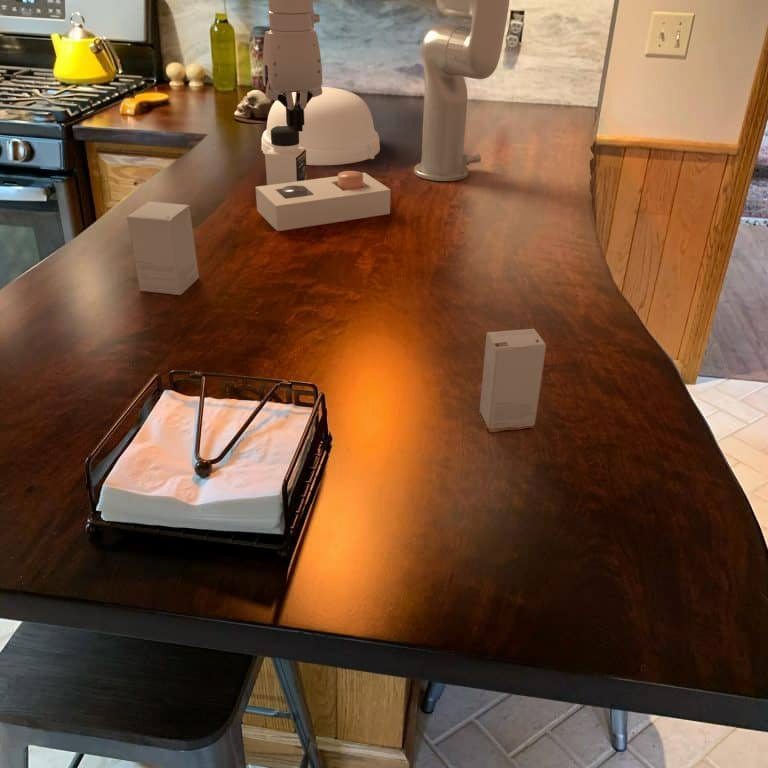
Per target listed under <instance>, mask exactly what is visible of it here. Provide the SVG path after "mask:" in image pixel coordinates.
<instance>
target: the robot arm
mask: <svg viewBox="0 0 768 768" xmlns="http://www.w3.org/2000/svg"><path fill="white" fill-rule="evenodd" d="M267 1H268V2H267V3H268V19H269V20H268V21H269V22H268V23H269V30H266V31H265V32H264V37H263V50H262V81H263V86H264V87H265V93H264V94H265V96H266V98H268V99H270V100H271V101H279V102H281V103H282V104H283V105H284V106H285V107H286V123H287V126H288V127H289V129H290V130H292V131H293V132H297V131H303V125H304V109H305V108H306V105H307V103H308V102H309V101H310V100H311V98H313V97H316V96H319V95H321V94H322V88H321V87H323V86H322V85H323V66H322V65H323V64H322V58H321V57H322V56H321V55H322V54H321V48H320V45H319V44H320V42H319V39H318V35H317V34H318V33H317V30H315V29H314V28H315V26H314V25H316V24H317V23H318V24H319V23H320V20H321V19H320V18H321V17H320V14H315V13H314V11H313V0H267ZM435 4H436V7H437V10H438V11H439V12H440V13H441V14H443V15H444V16H447V17H451V18H455V19H463V20H468V21H469V20H470V21H471V27H469V26H464V25H460V24H453V23H452V24H451V23H441V24H436V25H434V26H432V27H431V28H429V29H428V31H427V32H426V33H425V35H424V37H423V40H422V44H421V58H422V59H421V60H422V64H423V65H422V66H423V72H424V74H423V76H424V101H423V118H422V119H423V123H422V139H421V140H422V142H421V143H422V144H421V161H420V162H419V163H417V164H416V165H415V166H414V170H413V171H414V174H415V176H417V177H420V178H422V179H424V180H428V181H434V182H436V181H437V182H455V181H460V180H463V179H465V178H467V177H468V176H469V171H470V170H469V168H468V167H467V166H470V164H478V163H480V162H481V160H482V156H481V154H479V153H478V154H471V153H469V152H464V148H465V134H466V120H467V109H468V106H467V105H468V100H469V99H468V87H467V84H466V81H465V78H468V79H473V80H474V79H475V80H484V79H487V78H489V77H491V76H492V75H493V73H494V72H495V71H496V69H497V67H498V64H499V62H500V58H501V54H502V48H503V43H504V39H505V38H504V37H505V30H506V26H507V20H508V14H509V7H510V0H435ZM292 92H296V97H295V106H294V102H293V97H292Z"/></svg>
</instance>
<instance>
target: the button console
mask: <svg viewBox="0 0 768 768" xmlns="http://www.w3.org/2000/svg"><path fill="white" fill-rule="evenodd" d="M361 173H362V174H363V188H360V189H353V190H345V191H343V190H341V189H340V188H339V187H338V175H336V176H335V175H334V176H329V177H322V178H321V177H319V178H313V179H305V180H304V181H296V182H289V183H281V184H273V185H267V184H266V185H259V186H255V197H256V198H255V199H256V211H257V212H258V213H259V215H260V216H262V217H263V219H264V220H265V221H266V222H268V223H269V225H270V226H271V227H272V228H273V229H274V230H276V231H277V232H282V231H283V232H284V231H289V230H295V229H300V228H306V227H307V228H308V227H314V226H319V225H326V224H333V223H338V222H346V221H351V220H358V219H364V218H365V219H366V218H372V217H378V216H384V215H389V214H390V215H391V189H390V188H389V187H388V186H386V185H384V184H383V183H381V182H380V181H378V180H377V179H375V178H373V176H370V175H369V174H368V173H367V172H361ZM294 185H296V186H303V187H306V188H307V191H308V196H302V197H295V198H288V199H285V198H284V197H283V196H282V188H284V187H287V186H294Z"/></svg>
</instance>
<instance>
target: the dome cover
mask: <svg viewBox="0 0 768 768" xmlns="http://www.w3.org/2000/svg"><path fill="white" fill-rule="evenodd" d="M321 88H322V94H321V95H319V96H316V97H313V98H311V100H310V101H309V102H308V103H307V105H306V108H305V109H304V125H303V131H299V147H305V148H306V166H335V165H337V166H338V165H346V164H353V163H357V162H362V161H366V160H374V159H375V156H377V154H379V153H380V150H381V147H380V146H381V145H380V144H381V143H380V141H381V140H380V137H379V133H378V132H377V131H376V130H375V127H374V122H373V121H374V120H373V117H372V113H371V111H370V108H369V106H368V105H367V103H366V102H365V101H364V100H363V98H361V97H360V96H359V95H357V94H355V93H353V92H350V91H348V90H345V89H341V88H335V87H331V86H330V87H327V86H321ZM292 97H293V102H294V106H295V97H296V92H292ZM280 125H287V123H286V107H285V106H284V105H283V104H282V103H281V102H279V101H276V100H274V103H272V107H271V109H270V112H269V116H268V121H267V122H266V129H265V130H264V131H263V133H262V136H261V152H262V151H263V152H262V153H263V154H264V155H265V154H266V153H267V152H268V151H269V150H270V149H272V146H271V129H272V128H274V127H276V126H280Z"/></svg>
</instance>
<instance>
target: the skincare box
mask: <svg viewBox="0 0 768 768" xmlns="http://www.w3.org/2000/svg"><path fill="white" fill-rule="evenodd" d="M546 349H547V344H546V343H545V341H544V340H543V338H542V337H541V336H540V334H539V333H538V332H537V331H536V329H535V328H526V329H525V328H524V329H514V330H512V329H511V330H501V331H489V332H488V331H487V332H486V337H485V347H484V356H483V357H484V360H483V369H482V370H483V372H482V380H481V381H482V382H481V390H480V391H481V392H480V393H481V394H480V404H479V412H481V414H482V416H483V418H484V420H485V422H486V424H487V426H488V428H491V429H493V428H494V429H495V428H505V427H506V428H507V427H522V426H533V425H535V426H536V419H537V414H538V413H537V411H538V407H539V406H538V405H539V399H540V393H541V385H542V377H543V372H544V371H543V370H544V363H545V355H546Z"/></svg>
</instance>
